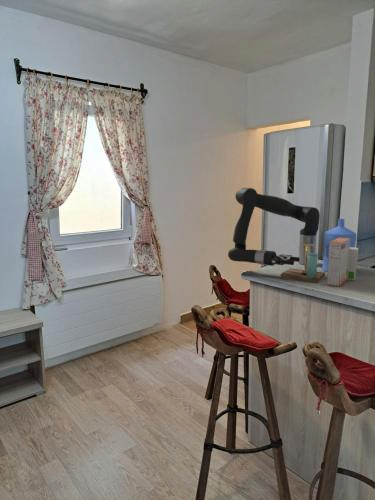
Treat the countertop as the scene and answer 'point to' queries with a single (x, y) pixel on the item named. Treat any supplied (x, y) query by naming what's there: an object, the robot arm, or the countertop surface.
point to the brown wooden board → (301, 275)
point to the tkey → (307, 250)
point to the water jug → (334, 234)
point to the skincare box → (352, 263)
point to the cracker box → (338, 261)
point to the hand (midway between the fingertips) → (296, 261)
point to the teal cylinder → (311, 265)
